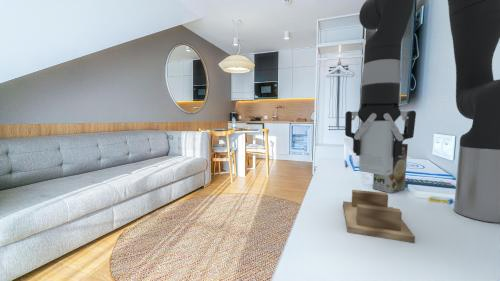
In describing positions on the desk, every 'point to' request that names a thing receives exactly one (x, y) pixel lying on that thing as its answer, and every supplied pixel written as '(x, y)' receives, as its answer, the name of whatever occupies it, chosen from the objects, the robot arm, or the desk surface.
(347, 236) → the desk surface
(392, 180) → the coffee box
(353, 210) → the oak cradle board
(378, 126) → the skincare box
